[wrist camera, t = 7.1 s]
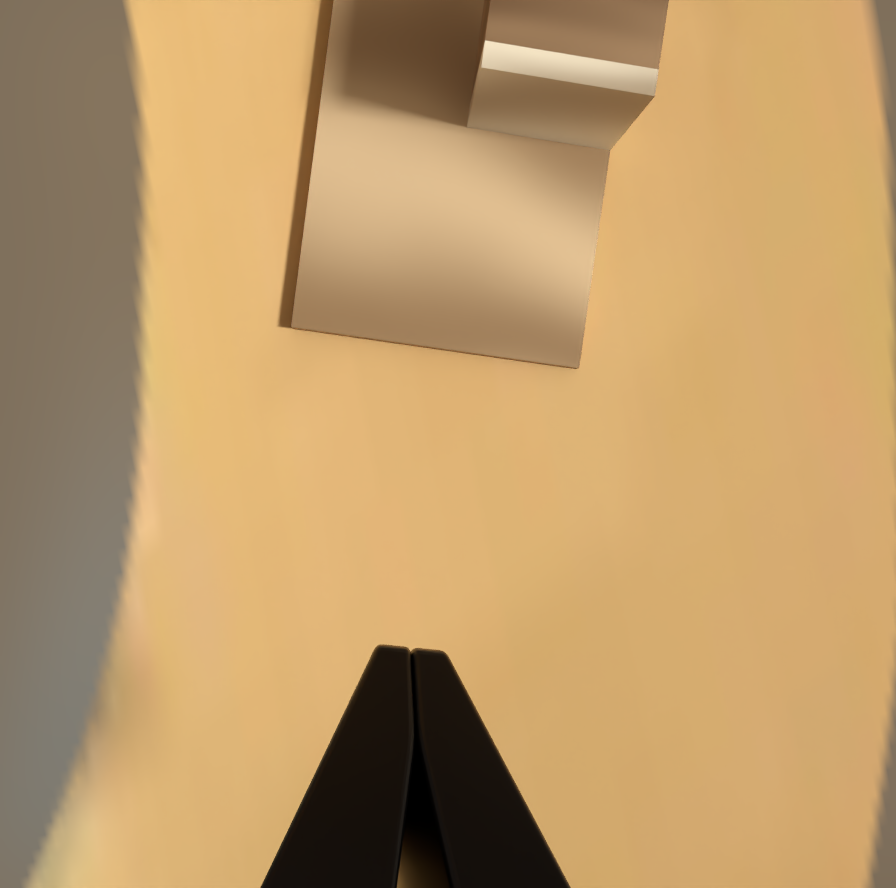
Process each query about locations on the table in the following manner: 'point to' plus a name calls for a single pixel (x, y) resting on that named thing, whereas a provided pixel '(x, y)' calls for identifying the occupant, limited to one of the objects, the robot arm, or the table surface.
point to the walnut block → (566, 68)
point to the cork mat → (439, 199)
